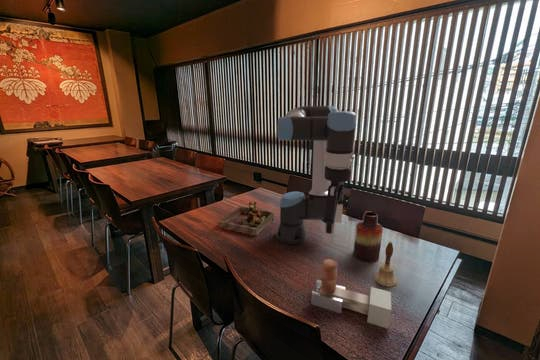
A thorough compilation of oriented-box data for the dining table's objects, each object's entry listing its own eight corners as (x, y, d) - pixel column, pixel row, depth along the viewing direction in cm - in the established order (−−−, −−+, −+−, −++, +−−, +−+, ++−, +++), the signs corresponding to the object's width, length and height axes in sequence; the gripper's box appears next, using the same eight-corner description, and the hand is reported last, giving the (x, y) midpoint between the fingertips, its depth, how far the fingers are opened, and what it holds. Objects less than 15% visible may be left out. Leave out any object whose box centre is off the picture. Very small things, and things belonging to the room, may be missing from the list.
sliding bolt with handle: (319, 301, 86) (321, 266, 82) (322, 291, 90) (324, 257, 86) (382, 320, 78) (388, 282, 74) (383, 309, 82) (388, 273, 78)
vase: (366, 265, 106) (372, 221, 100) (348, 252, 115) (352, 211, 109) (384, 258, 111) (390, 216, 105) (365, 246, 120) (369, 207, 114)
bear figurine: (239, 228, 139) (238, 208, 135) (247, 216, 152) (246, 198, 149) (262, 231, 135) (262, 210, 132) (269, 219, 149) (269, 200, 146)
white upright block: (367, 322, 79) (369, 303, 77) (368, 304, 86) (371, 286, 84) (388, 329, 76) (391, 310, 74) (388, 310, 83) (390, 292, 81)
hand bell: (369, 273, 101) (374, 238, 97) (389, 271, 102) (395, 237, 97) (380, 287, 93) (385, 250, 89) (401, 286, 94) (408, 248, 89)
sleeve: (311, 304, 86) (311, 293, 85) (316, 290, 92) (317, 279, 91) (341, 313, 82) (342, 302, 81) (344, 298, 89) (345, 287, 87)
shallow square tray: (219, 228, 139) (219, 221, 137) (240, 211, 159) (240, 206, 157) (256, 236, 130) (256, 229, 128) (274, 218, 150) (274, 212, 148)
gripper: (344, 179, 61) (338, 254, 68) (356, 158, 83) (350, 217, 89) (314, 176, 64) (311, 248, 71) (333, 156, 86) (329, 213, 92)
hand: (333, 231), depth 80 cm, fingers open, 13 cm apart
